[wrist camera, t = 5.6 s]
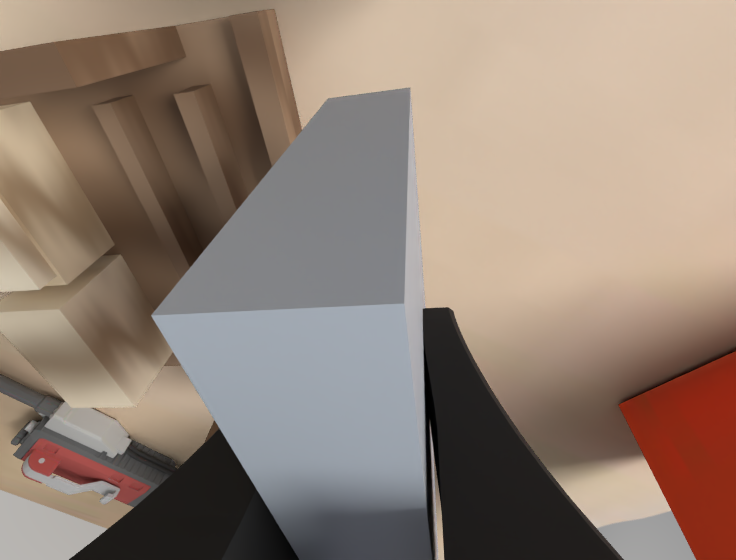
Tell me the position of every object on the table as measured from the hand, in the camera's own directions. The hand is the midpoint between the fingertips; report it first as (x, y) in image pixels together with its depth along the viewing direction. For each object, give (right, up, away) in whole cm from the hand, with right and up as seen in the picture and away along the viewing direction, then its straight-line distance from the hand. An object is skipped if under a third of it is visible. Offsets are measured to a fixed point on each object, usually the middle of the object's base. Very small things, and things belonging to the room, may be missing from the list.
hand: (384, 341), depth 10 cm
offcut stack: (-16, +3, +11) cm, 19 cm away
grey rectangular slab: (0, +2, +3) cm, 3 cm away
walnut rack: (-11, +4, +11) cm, 16 cm away
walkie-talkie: (-26, -11, +25) cm, 37 cm away
